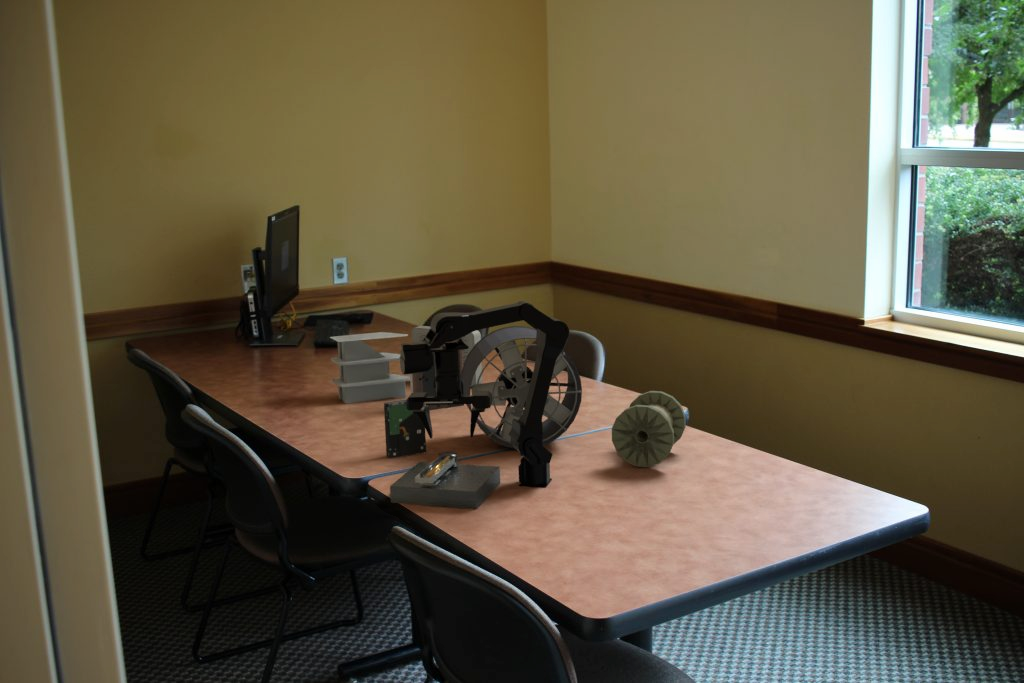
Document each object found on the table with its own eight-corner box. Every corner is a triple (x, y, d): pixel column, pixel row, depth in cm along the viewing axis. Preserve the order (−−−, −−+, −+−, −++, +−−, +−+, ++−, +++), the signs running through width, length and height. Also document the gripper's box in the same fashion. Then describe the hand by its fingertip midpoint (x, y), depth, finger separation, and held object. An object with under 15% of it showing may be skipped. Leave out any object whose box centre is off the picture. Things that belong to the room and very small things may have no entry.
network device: (486, 388, 329) (484, 329, 325) (471, 394, 321) (469, 333, 318) (425, 381, 342) (422, 324, 339) (409, 387, 335) (406, 328, 331)
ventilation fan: (470, 456, 254) (466, 340, 249) (462, 436, 272) (458, 329, 267) (585, 447, 259) (583, 334, 253) (570, 429, 277) (567, 322, 271)
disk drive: (422, 451, 259) (420, 396, 257) (427, 454, 257) (424, 398, 254) (385, 458, 254) (382, 402, 252) (389, 461, 252) (386, 404, 249)
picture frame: (460, 407, 305) (458, 338, 301) (464, 408, 303) (461, 339, 299) (411, 415, 297) (407, 344, 294) (414, 417, 295) (411, 345, 291)
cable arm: (460, 462, 234) (459, 450, 234) (433, 487, 217) (432, 474, 217) (442, 461, 236) (442, 450, 235) (414, 486, 218) (413, 473, 218)
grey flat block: (500, 483, 232) (499, 465, 232) (476, 509, 215) (475, 490, 215) (420, 478, 238) (419, 460, 237) (390, 503, 221) (389, 484, 220)
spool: (672, 469, 239) (672, 408, 236) (612, 464, 244) (611, 404, 241) (685, 449, 254) (685, 392, 251) (628, 445, 259) (627, 389, 257)
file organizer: (308, 403, 317) (303, 336, 313) (411, 389, 332) (407, 325, 328) (331, 421, 294) (326, 348, 290) (440, 405, 309) (437, 336, 305)
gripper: (493, 361, 228) (496, 427, 231) (412, 363, 230) (416, 428, 233) (488, 371, 218) (491, 440, 220) (403, 374, 219) (408, 442, 222)
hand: (451, 437), depth 224 cm, fingers open, 9 cm apart
